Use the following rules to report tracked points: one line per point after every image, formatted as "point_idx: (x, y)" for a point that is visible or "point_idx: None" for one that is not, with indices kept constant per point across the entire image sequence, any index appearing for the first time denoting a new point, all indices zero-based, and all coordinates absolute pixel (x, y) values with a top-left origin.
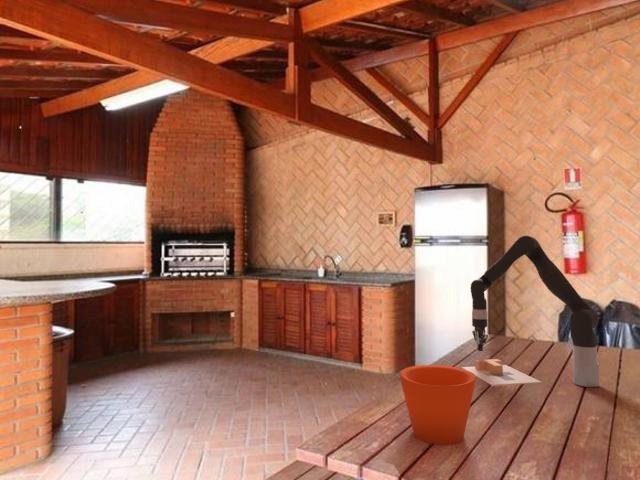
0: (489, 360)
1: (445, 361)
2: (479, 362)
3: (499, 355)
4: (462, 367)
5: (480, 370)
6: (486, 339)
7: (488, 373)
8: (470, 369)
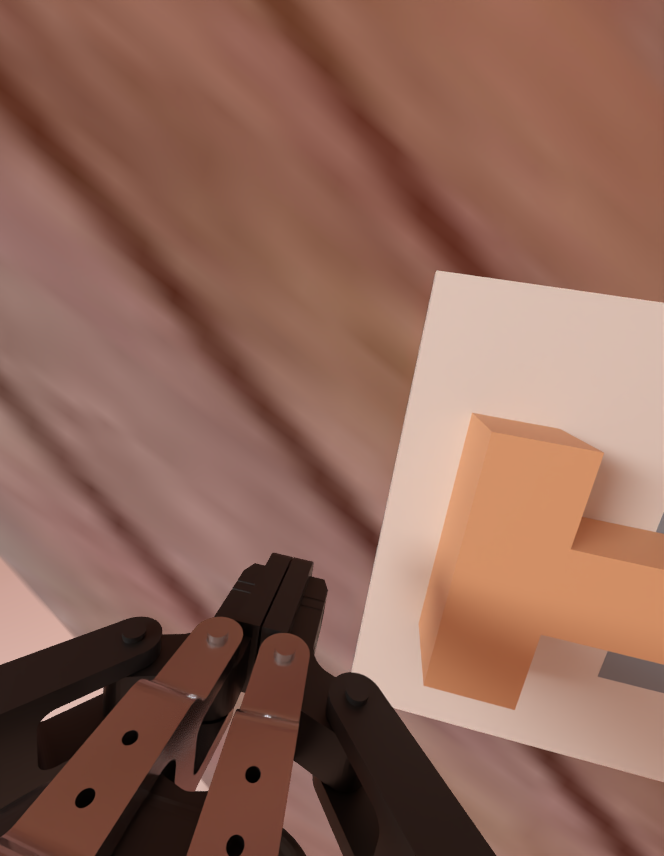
0: (509, 568)
1: None
2: (515, 700)
3: (19, 12)
4: None
5: None
6: (473, 831)
7: None
8: None
